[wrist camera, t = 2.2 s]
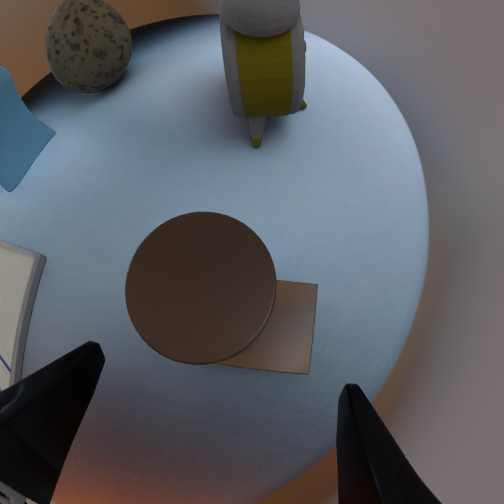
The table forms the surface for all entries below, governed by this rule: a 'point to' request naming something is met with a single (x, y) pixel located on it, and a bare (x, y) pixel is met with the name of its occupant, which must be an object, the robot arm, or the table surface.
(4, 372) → the board
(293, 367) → the wooden rubber stamp
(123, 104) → the table surface
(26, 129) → the vase
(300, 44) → the alarm clock
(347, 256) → the table surface
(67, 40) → the decorative egg
